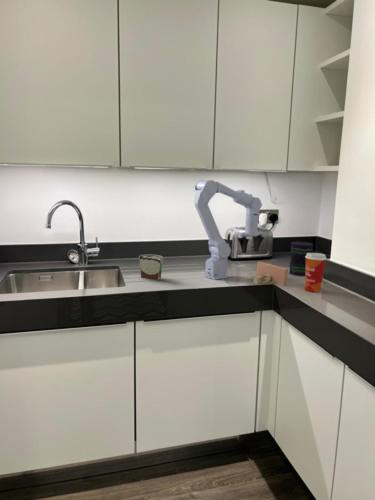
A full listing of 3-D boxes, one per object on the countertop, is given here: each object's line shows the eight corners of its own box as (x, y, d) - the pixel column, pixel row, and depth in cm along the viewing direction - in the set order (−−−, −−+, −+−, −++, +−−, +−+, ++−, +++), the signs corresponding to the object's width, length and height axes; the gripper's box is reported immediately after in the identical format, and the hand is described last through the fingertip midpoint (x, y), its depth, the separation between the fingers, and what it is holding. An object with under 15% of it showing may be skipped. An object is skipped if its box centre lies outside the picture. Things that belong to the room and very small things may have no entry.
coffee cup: (299, 287, 157) (302, 252, 154) (318, 287, 157) (321, 252, 155) (306, 293, 149) (310, 256, 146) (326, 293, 149) (330, 256, 146)
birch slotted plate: (256, 284, 160) (256, 277, 159) (253, 283, 161) (253, 276, 161) (287, 278, 171) (288, 271, 170) (284, 277, 172) (284, 271, 172)
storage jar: (308, 277, 174) (311, 245, 171) (287, 274, 178) (289, 243, 175) (311, 272, 183) (314, 242, 180) (290, 270, 187) (293, 240, 184)
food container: (169, 278, 164) (169, 256, 162) (161, 281, 159) (161, 258, 157) (146, 274, 170) (146, 253, 169) (138, 277, 165) (138, 255, 163)
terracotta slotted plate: (286, 284, 160) (287, 268, 159) (283, 285, 159) (284, 269, 158) (259, 276, 173) (260, 261, 172) (256, 276, 172) (257, 262, 171)
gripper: (246, 224, 165) (244, 255, 168) (269, 223, 174) (267, 252, 176) (235, 223, 171) (233, 252, 174) (258, 221, 179) (256, 249, 182)
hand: (249, 252), depth 175 cm, fingers open, 7 cm apart
